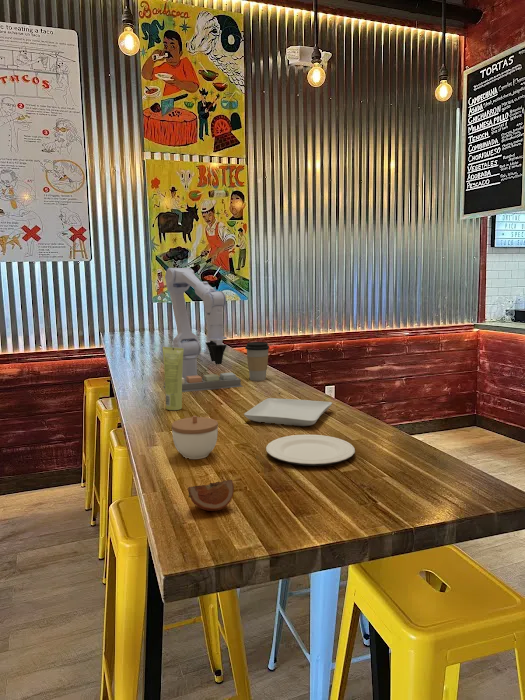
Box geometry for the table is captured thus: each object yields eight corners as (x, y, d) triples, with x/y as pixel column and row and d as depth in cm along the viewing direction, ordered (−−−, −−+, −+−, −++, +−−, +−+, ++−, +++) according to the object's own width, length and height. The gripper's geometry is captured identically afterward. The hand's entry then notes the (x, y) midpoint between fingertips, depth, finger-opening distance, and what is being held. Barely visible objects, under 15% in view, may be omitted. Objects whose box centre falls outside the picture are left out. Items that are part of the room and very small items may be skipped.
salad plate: (242, 424, 153) (242, 413, 153) (267, 406, 173) (267, 396, 172) (315, 432, 146) (315, 419, 146) (333, 412, 166) (333, 401, 165)
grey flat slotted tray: (162, 388, 198) (162, 380, 198) (232, 382, 208) (232, 374, 208) (169, 395, 187) (169, 386, 187) (243, 389, 197) (243, 380, 197)
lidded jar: (177, 447, 133) (176, 410, 132) (220, 447, 133) (220, 410, 131) (168, 462, 122) (167, 422, 121) (215, 463, 122) (215, 422, 121)
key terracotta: (186, 381, 197) (186, 376, 197) (198, 380, 199) (198, 375, 199) (189, 384, 193) (189, 378, 193) (202, 382, 195) (202, 377, 195)
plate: (332, 478, 114) (332, 469, 113) (248, 460, 124) (248, 452, 124) (368, 450, 131) (368, 442, 131) (292, 436, 142) (292, 429, 142)
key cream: (169, 383, 195) (168, 377, 195) (181, 381, 197) (181, 376, 196) (171, 385, 191) (171, 379, 191) (184, 384, 193) (184, 378, 192)
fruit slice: (192, 520, 95) (191, 492, 94) (184, 504, 101) (183, 478, 100) (238, 512, 98) (237, 485, 97) (227, 497, 104) (226, 472, 103)
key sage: (203, 380, 200) (203, 374, 199) (215, 379, 201) (215, 373, 201) (206, 382, 196) (206, 377, 195) (219, 381, 197) (219, 376, 197)
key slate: (220, 378, 202) (219, 373, 202) (231, 377, 204) (231, 372, 204) (223, 381, 198) (223, 375, 198) (235, 380, 200) (235, 374, 199)
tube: (182, 406, 173) (180, 345, 170) (185, 409, 169) (183, 347, 166) (164, 407, 171) (162, 346, 168) (167, 411, 167) (165, 348, 164)
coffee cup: (270, 379, 214) (270, 341, 212) (268, 384, 205) (268, 345, 203) (247, 379, 215) (246, 341, 213) (243, 384, 206) (243, 345, 204)
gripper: (230, 326, 189) (231, 364, 191) (222, 323, 203) (223, 359, 205) (210, 327, 187) (211, 366, 189) (203, 324, 201) (204, 360, 203)
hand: (216, 362), depth 197 cm, fingers open, 7 cm apart
